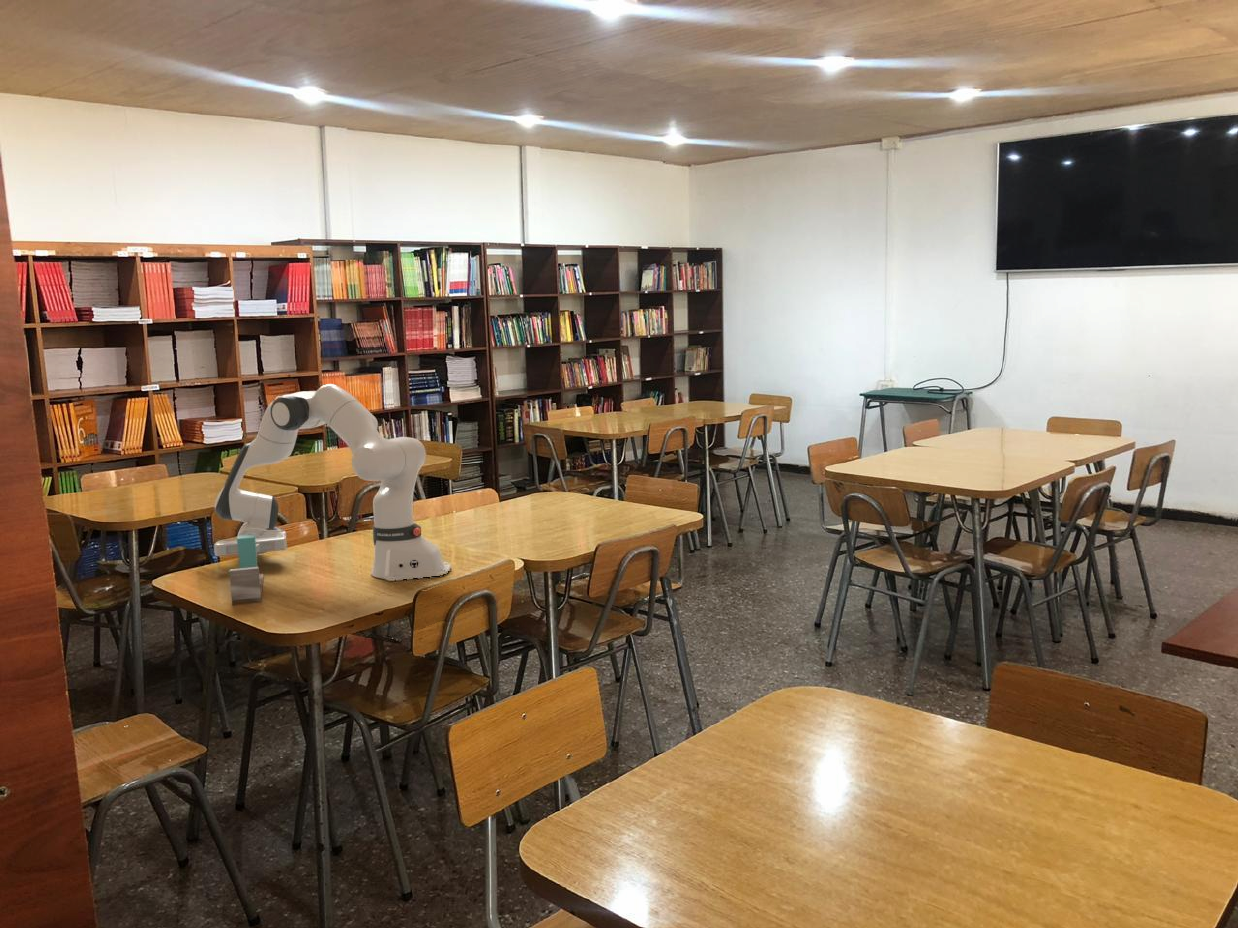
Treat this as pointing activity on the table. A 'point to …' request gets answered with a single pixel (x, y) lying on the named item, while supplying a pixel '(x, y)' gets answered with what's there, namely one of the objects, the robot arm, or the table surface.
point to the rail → (246, 585)
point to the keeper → (247, 551)
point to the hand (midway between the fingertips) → (250, 551)
